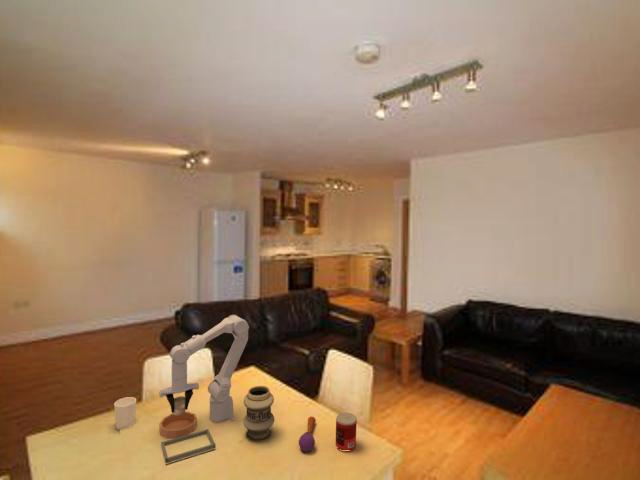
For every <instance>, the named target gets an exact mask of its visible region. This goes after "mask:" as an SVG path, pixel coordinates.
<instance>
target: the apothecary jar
mask: <svg viewBox="0 0 640 480" xmlns="http://www.w3.org/2000/svg"><path fill="white" fill-rule="evenodd" d="M274 401H275V398H274V395H273V394H272V392H271V391H270V388H269V387H267V386H266V385H255V386H252V387H250V388H249V389H248V391H247V394H246V395H245V396H244V397H243V405H244V406H245V407H246V414H245V415H244V417H243V426H244V428H245V429H246V430H247V431H246V433H245V436H246V438H248V439H249V441H251V442H258V443H259V442H263V441H267V440H268V439H269V438H270V437H271V436H272V430H271V429H270V428H272V426H273V425H274V422H275V416H274V414H273V413H272V406H273V404H274Z"/></svg>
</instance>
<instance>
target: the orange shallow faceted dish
mask: <svg viewBox="0 0 640 480" xmlns="http://www.w3.org/2000/svg"><path fill="white" fill-rule="evenodd" d="M197 427H198V418H197V416H196V413H194V412H190V411H185V413H184V414H183V415H179V416H176V415H174V414H173V413H172V412H171V413H170V414H168V415H166V416H164V417H163V418H161V421H160V422H159V429H158V430H159V434H160V436H161V437H163V438H165V439H175V438H178V437H182V436H185V435H189V434H192V433H194V432H195V431H196V428H197Z"/></svg>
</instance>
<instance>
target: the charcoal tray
mask: <svg viewBox="0 0 640 480" xmlns="http://www.w3.org/2000/svg"><path fill="white" fill-rule="evenodd" d="M204 435H206V436H207V438H208V440H209V442H210V444H208V445H205V446H201V447H198V448H194V449H192V450H188V451H185V452H182V453H178V454H174V455H171V456H168V453H167V449H166V446H169V445H173V444H176V443H179V442H183V441H186V440H190V439H193V438H197V437H201V436H204ZM160 445H161V450H162V453H163V458H164V460H165V461H164V462H165V467H167V466H169V465H172V464H175V463H179V462H182V461H185V460H188V459H191V458H192V459H193V458H195V457H198V456H201V455H205V454H207V453H210V452H211V453H212V452H214V451H216V447H217V446H216V443H215V440H214V439H213V436H212V434H211V433H210V430H209V429H203V430H200V431H197V432H192V433H190V434H189V435H185V436H182V437H178V438H170V439H169V440H168V439H167V440H164V441H161V442H160Z"/></svg>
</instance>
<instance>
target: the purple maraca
mask: <svg viewBox="0 0 640 480" xmlns="http://www.w3.org/2000/svg"><path fill="white" fill-rule="evenodd" d="M316 422H317V420H316V418H315V417H314V416H309V417H308V418H307V431H306V432H303V434H302V435H301V436H300V437H299V439H298V446H299V448H300V449H301V450H302V451H303V452H305V453H307V452H310V451H312V450H313V449H314V448H315V445H316V444H315V443H316V440H315V437H314V436H313V434H312V433H311V432H312V430H313V428H314V426H315V424H316Z"/></svg>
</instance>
